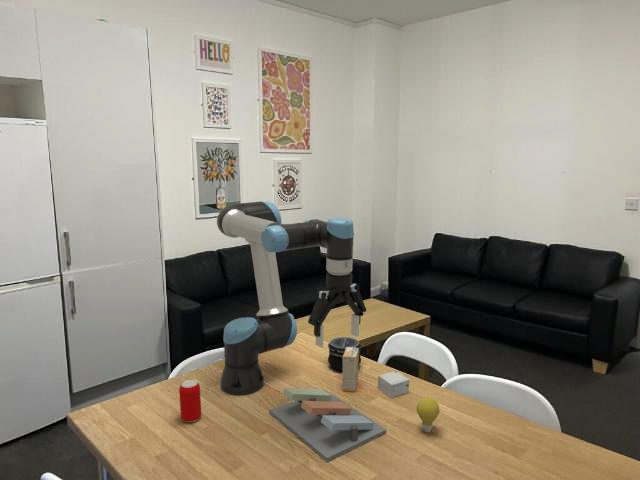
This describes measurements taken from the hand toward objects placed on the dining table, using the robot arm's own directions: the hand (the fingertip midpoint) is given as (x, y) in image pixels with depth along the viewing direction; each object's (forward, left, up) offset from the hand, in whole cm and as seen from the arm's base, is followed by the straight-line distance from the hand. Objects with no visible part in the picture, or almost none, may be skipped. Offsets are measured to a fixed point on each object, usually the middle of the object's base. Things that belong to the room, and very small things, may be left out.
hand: (337, 340), depth 143 cm
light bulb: (+20, +18, -26) cm, 38 cm away
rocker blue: (+9, -4, -22) cm, 24 cm away
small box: (-3, +27, -27) cm, 38 cm away
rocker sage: (-11, -4, -22) cm, 25 cm away
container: (-27, +26, -27) cm, 46 cm away
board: (-1, -4, -26) cm, 26 cm away
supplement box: (-14, +17, -27) cm, 35 cm away
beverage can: (-28, -36, -26) cm, 53 cm away
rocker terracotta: (-1, -4, -22) cm, 22 cm away
